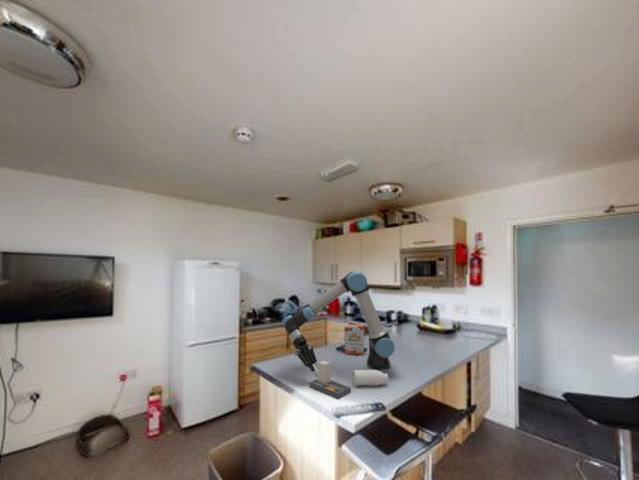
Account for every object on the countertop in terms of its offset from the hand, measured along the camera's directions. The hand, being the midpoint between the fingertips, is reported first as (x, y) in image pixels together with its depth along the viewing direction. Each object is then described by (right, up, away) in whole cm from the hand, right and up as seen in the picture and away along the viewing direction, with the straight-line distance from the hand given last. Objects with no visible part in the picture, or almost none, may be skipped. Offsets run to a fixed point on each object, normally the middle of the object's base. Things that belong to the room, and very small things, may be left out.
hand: (318, 375), depth 151 cm
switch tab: (+3, -2, -3) cm, 5 cm away
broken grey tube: (+28, -5, 0) cm, 29 cm away
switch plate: (+6, -4, -6) cm, 10 cm away
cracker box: (+27, -11, +56) cm, 63 cm away
